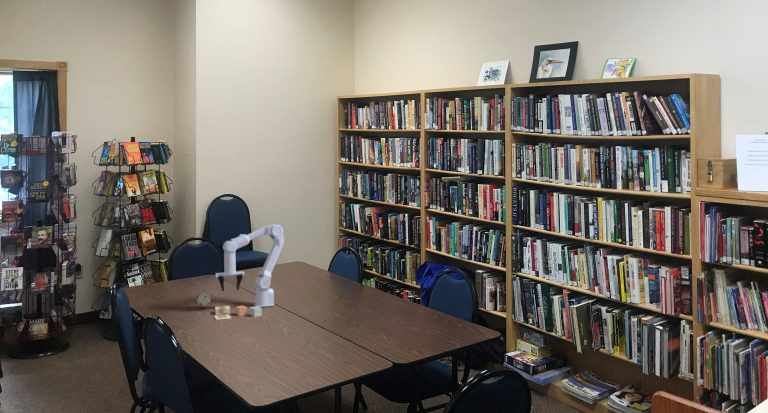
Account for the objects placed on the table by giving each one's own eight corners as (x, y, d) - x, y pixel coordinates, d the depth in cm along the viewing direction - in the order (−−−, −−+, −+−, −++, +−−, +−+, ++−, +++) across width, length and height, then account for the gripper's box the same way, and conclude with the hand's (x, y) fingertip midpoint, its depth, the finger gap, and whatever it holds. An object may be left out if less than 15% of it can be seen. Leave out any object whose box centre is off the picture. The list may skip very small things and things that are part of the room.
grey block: (256, 314, 311) (256, 306, 310) (261, 315, 307) (261, 307, 307) (249, 315, 308) (249, 307, 308) (254, 317, 304) (254, 308, 304)
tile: (228, 315, 307) (228, 314, 307) (231, 318, 301) (231, 317, 301) (214, 316, 304) (214, 315, 304) (216, 319, 298) (216, 318, 298)
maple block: (229, 311, 318) (229, 305, 318) (230, 314, 311) (230, 308, 311) (215, 312, 316) (215, 306, 315) (215, 315, 309) (215, 309, 309)
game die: (207, 310, 318) (207, 291, 317) (192, 310, 320) (192, 291, 319) (215, 307, 327) (215, 288, 326) (201, 306, 328) (200, 288, 328)
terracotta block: (243, 313, 313) (243, 305, 312) (247, 315, 308) (247, 307, 308) (236, 314, 310) (236, 306, 310) (239, 316, 306) (239, 308, 306)
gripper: (242, 262, 326) (242, 287, 326) (214, 264, 319) (214, 289, 320) (245, 264, 319) (245, 289, 320) (216, 265, 313) (217, 292, 314)
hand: (230, 290), depth 319 cm, fingers open, 7 cm apart
